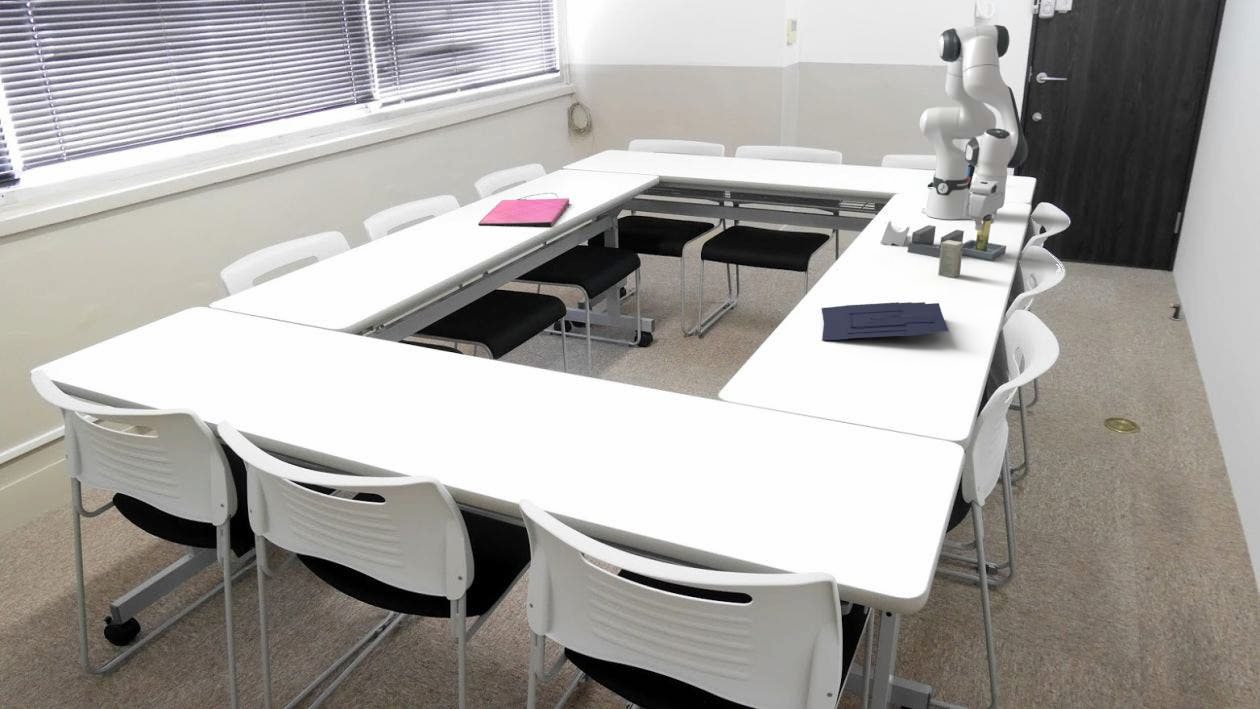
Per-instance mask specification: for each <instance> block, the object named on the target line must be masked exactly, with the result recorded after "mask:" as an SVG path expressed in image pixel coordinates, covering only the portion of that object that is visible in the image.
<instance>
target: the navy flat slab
mask: <svg viewBox="0 0 1260 709" xmlns="http://www.w3.org/2000/svg"><path fill="white" fill-rule="evenodd" d="M821 311H822V312H821V313H822V319H823V328H822V329H823V330H822V338H821V340H822V341H835V340H836V341H838V340H849V339H859V338H860V339H864V338H879V337H880V338H881V337H899V336H900V337H901V336H903V337H912V336H921V335H935V334H936V333H941V332H950V330H949V328H948V325H947V323H946V320H945V319H944V318H945V317H944V316H943V312H942V309H941V306H940V303H939V302H936V303H935V302H933V303H926V302H923V301H922V302H912V301H911V302H909V301H908V302H885V303H883V302H882V303H880V302H879V303H866V304H865V303H864V304H848V305H838V306H830V307H829V306H828V307H821Z"/></svg>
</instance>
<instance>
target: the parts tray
mask: <svg viewBox="0 0 1260 709" xmlns="http://www.w3.org/2000/svg"><path fill="white" fill-rule="evenodd" d="M975 246H976V239H975V240H974V239H970V240H968V241H966V242H963V251H962V257H964V258H965V257H966V258H970V259H977V260H981V261H987V262H991V261H992V262H993V261H995V260H997V259H998V258H1000V257H1002V256H1003V255H1005V254H1006V252H1007V245H1004V244H997V243H993V242H988V247H987V252H984V251H978V250H975ZM1001 255H1002V256H1001ZM996 258H997V259H996Z"/></svg>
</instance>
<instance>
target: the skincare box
mask: <svg viewBox="0 0 1260 709" xmlns="http://www.w3.org/2000/svg"><path fill="white" fill-rule="evenodd" d="M963 244H964V242H958V241H952V240H947V241H944V242H942V243H941V252H940V258H939V262H938V263H939V264H938V273H937V275H938V276H942V277H947V278H948V277H949V278H957V277H958V276H960V275H961V270H962V269H961V268H962V267H961V266H962V257H963V256H962V251H963Z"/></svg>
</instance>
